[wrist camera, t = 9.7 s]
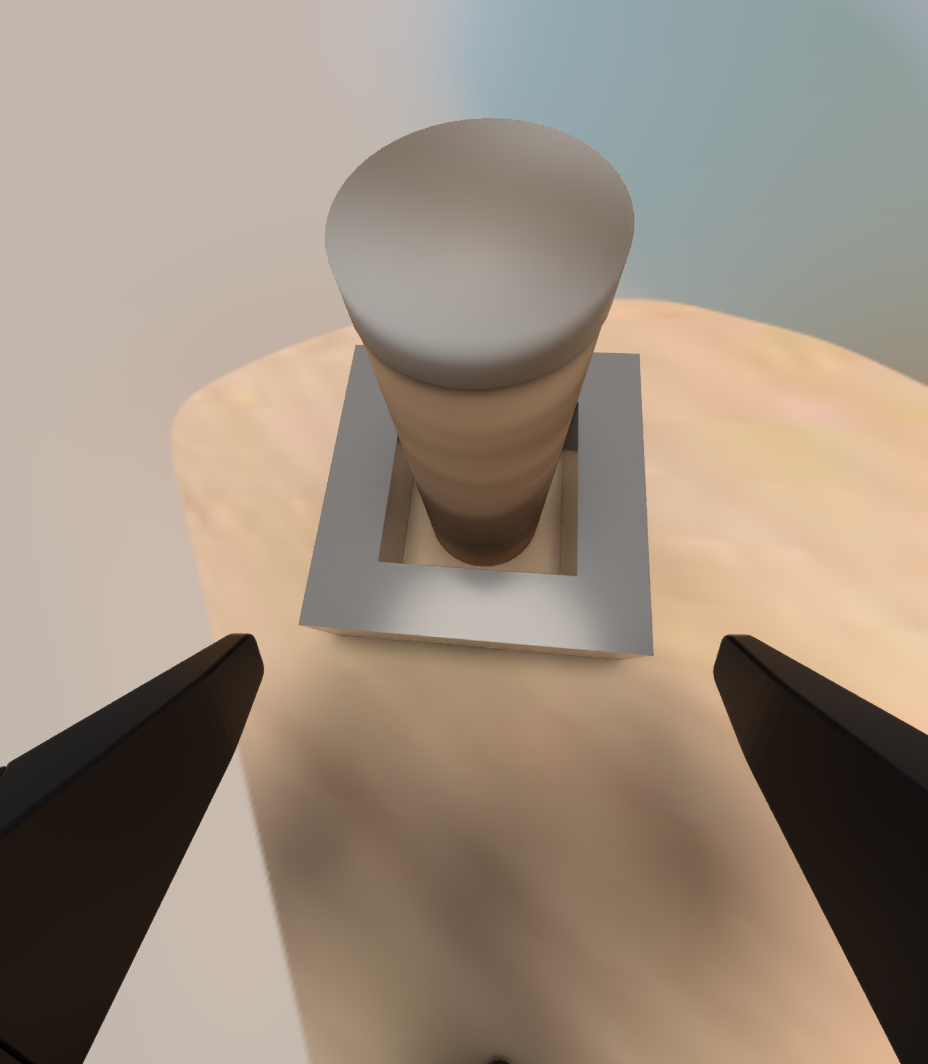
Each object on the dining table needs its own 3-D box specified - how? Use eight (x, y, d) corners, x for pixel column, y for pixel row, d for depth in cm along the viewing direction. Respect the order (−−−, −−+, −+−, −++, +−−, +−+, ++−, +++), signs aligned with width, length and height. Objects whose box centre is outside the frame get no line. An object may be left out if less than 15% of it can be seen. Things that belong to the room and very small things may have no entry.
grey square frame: (619, 659, 16) (653, 656, 13) (335, 634, 17) (298, 624, 14) (613, 408, 19) (639, 353, 16) (377, 398, 20) (355, 345, 17)
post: (521, 581, 17) (592, 376, 5) (415, 548, 18) (273, 300, 6) (551, 482, 19) (661, 141, 7) (451, 454, 19) (391, 101, 7)
